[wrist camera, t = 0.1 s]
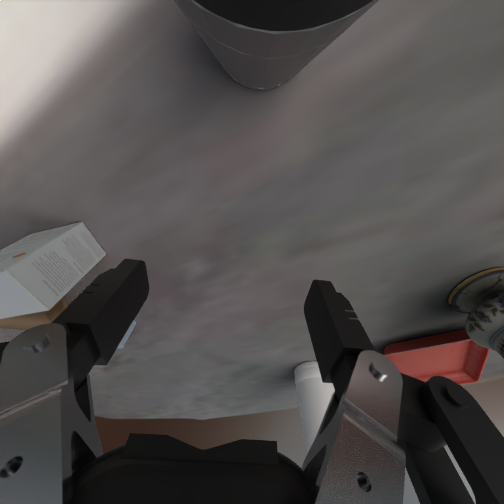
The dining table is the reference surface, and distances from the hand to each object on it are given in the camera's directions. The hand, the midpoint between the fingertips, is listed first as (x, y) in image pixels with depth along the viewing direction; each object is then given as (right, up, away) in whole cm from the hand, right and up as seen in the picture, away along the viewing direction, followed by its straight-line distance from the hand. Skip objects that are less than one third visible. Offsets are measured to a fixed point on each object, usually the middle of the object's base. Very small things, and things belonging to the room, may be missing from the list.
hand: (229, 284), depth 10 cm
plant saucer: (+38, -20, +35) cm, 55 cm away
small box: (-24, +3, +19) cm, 31 cm away
